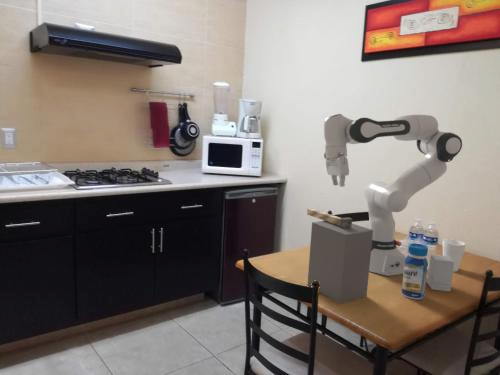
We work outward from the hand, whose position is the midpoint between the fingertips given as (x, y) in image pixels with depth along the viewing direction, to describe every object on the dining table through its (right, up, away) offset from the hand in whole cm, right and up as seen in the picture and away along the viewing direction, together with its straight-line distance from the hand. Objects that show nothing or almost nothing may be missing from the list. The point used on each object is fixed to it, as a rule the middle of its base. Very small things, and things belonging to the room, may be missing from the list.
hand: (338, 185), depth 166 cm
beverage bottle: (+25, -43, -15) cm, 52 cm away
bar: (-7, -14, -11) cm, 19 cm away
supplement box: (+40, -42, -6) cm, 58 cm away
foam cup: (+56, -39, +16) cm, 70 cm away
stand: (-4, -41, -14) cm, 43 cm away
